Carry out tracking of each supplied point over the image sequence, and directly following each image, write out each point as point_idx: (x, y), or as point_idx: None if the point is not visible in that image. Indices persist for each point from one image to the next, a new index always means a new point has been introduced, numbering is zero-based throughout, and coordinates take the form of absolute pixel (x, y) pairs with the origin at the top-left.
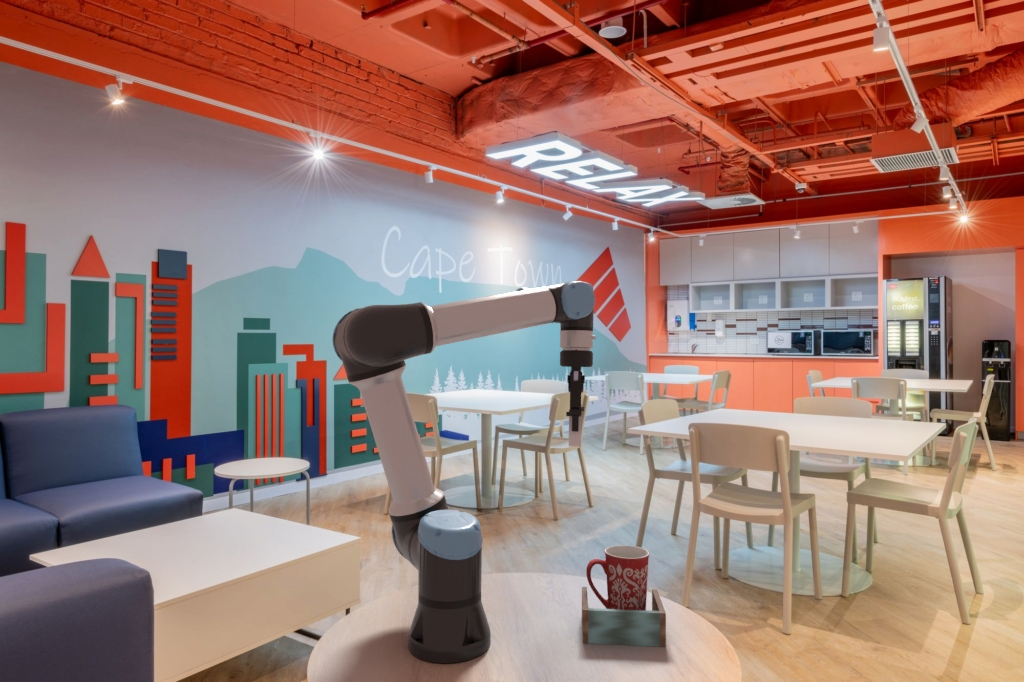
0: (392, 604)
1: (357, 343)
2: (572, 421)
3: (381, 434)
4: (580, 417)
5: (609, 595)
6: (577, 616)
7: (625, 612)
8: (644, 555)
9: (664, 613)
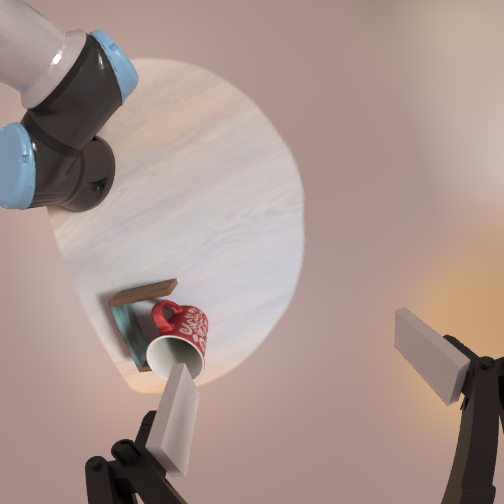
0: (142, 73)
1: None
2: (136, 440)
3: None
4: (170, 472)
5: (170, 318)
6: (175, 273)
7: (124, 340)
8: (191, 375)
9: (139, 371)
